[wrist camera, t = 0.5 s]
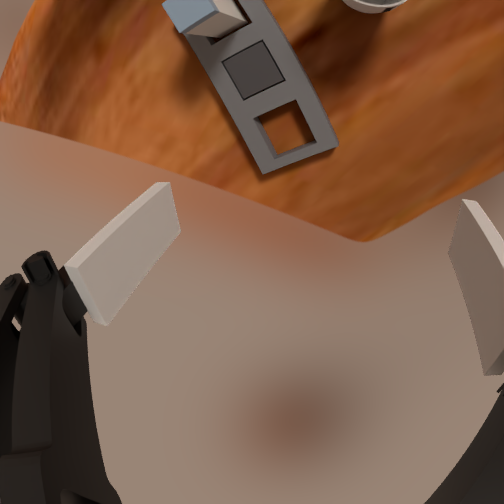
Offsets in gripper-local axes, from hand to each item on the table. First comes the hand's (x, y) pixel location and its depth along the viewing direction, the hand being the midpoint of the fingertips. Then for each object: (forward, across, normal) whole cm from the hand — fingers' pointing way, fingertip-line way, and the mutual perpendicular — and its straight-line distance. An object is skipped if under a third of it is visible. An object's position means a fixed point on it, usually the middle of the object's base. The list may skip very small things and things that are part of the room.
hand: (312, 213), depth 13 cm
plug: (+26, -12, +13) cm, 31 cm away
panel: (+25, -8, +6) cm, 27 cm away
